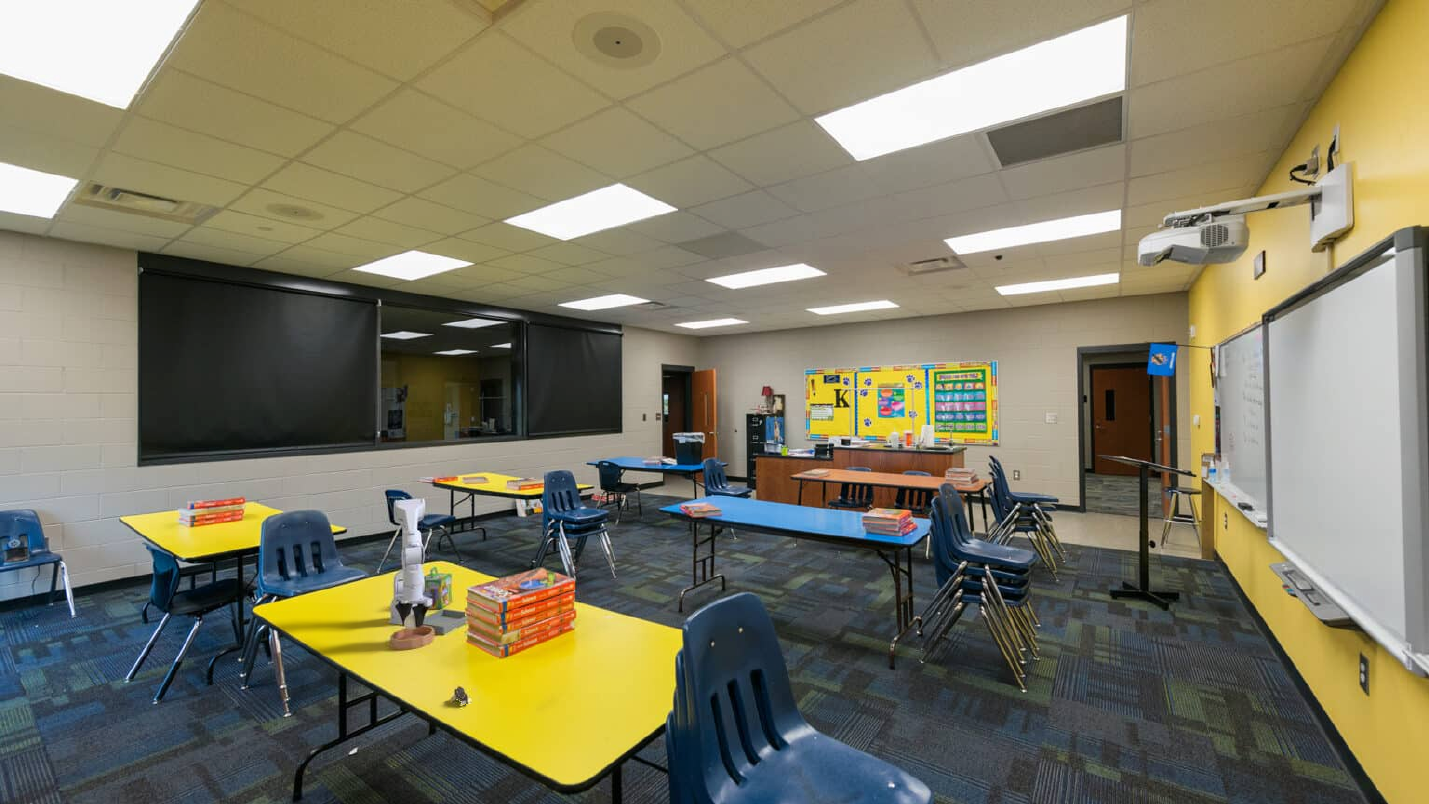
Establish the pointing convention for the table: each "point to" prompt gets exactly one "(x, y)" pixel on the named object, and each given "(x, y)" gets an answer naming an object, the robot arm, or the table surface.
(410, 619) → the ball
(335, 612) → the table surface
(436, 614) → the tray
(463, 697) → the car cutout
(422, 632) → the bowl
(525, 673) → the table surface
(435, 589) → the chalk box
